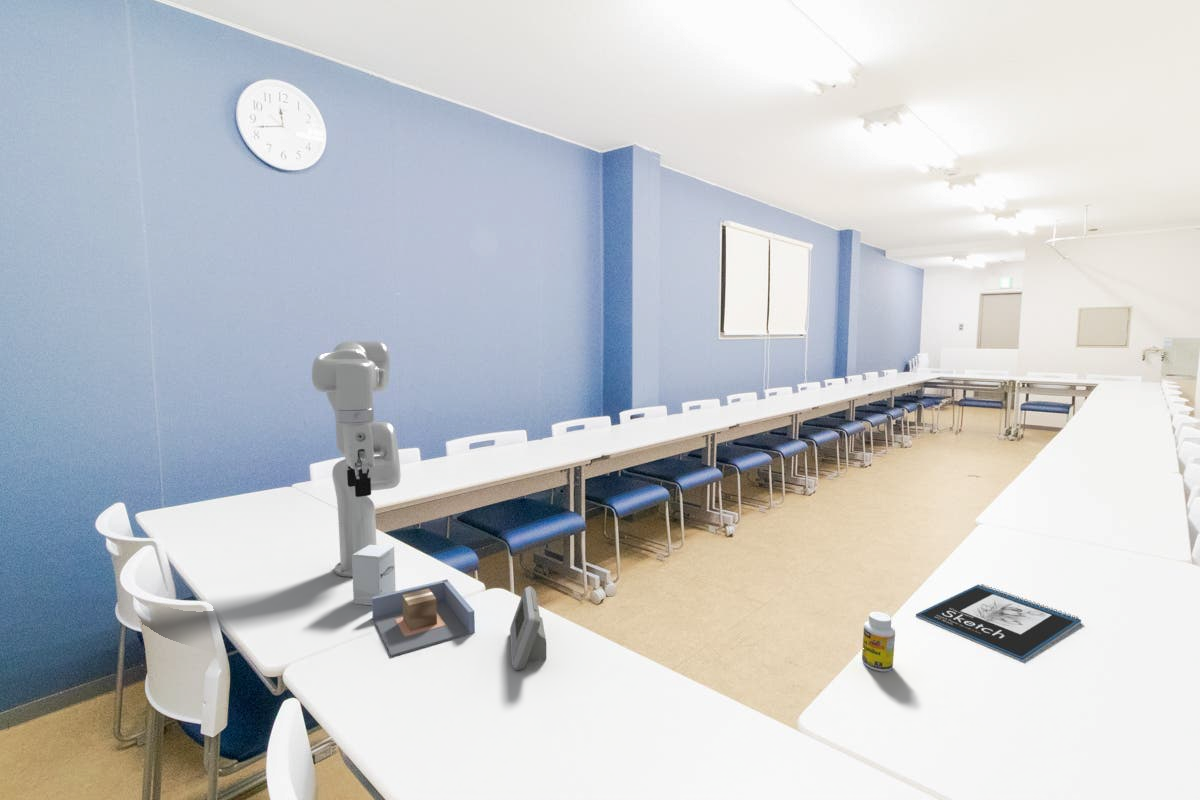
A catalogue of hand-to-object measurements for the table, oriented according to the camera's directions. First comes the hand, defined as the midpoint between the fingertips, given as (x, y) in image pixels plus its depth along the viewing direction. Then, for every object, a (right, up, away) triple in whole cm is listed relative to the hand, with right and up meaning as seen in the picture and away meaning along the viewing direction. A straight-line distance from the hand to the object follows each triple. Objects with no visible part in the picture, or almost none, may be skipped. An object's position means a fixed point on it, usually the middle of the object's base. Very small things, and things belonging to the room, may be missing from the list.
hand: (359, 490), depth 127 cm
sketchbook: (+148, -31, +2) cm, 151 cm away
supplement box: (-1, -29, +12) cm, 32 cm away
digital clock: (+39, -32, -11) cm, 52 cm away
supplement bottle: (+111, -32, -16) cm, 116 cm away
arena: (+15, -31, -1) cm, 34 cm away
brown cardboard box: (+14, -30, -1) cm, 33 cm away
